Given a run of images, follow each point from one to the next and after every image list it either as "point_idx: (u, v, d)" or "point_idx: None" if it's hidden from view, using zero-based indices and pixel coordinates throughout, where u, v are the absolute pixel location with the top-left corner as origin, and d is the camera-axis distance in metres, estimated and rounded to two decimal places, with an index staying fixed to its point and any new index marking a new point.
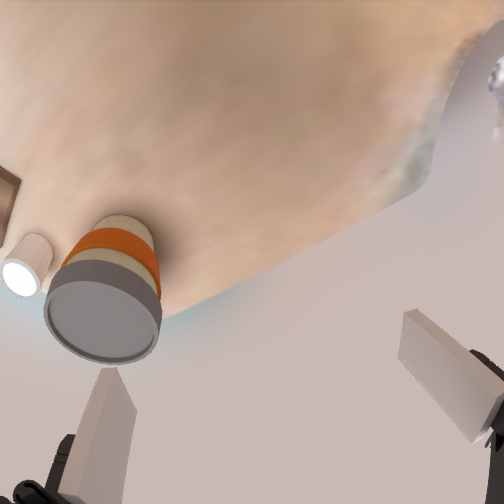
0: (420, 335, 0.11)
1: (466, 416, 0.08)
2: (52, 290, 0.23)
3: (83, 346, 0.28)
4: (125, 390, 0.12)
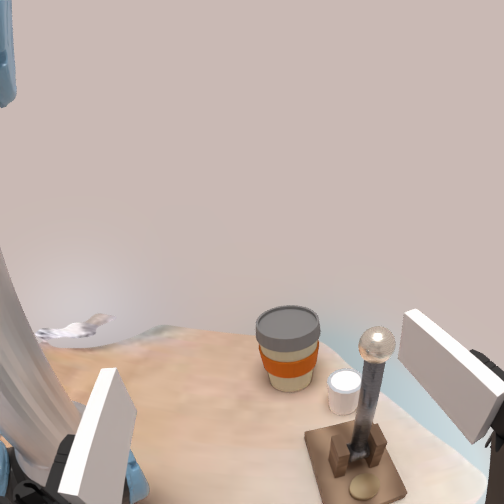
0: (420, 335, 0.11)
1: (466, 416, 0.08)
2: (283, 340, 0.51)
3: (312, 320, 0.57)
4: (125, 390, 0.12)
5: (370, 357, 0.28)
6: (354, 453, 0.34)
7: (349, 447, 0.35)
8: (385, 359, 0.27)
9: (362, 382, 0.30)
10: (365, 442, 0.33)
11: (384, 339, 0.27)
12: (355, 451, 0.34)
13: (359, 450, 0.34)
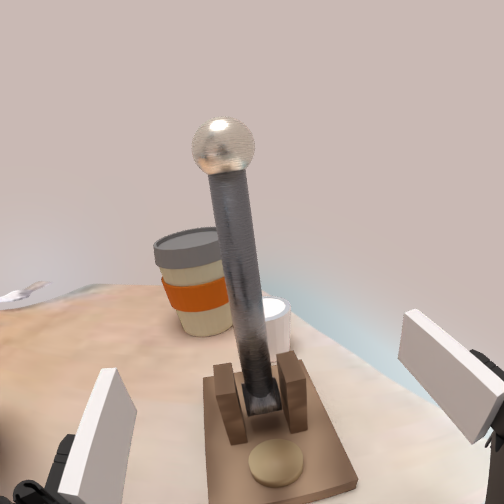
0: (420, 335, 0.11)
1: (466, 416, 0.08)
2: (176, 250, 0.41)
3: None
4: (125, 390, 0.12)
5: (201, 152, 0.17)
6: (251, 398, 0.23)
7: (243, 387, 0.24)
8: (229, 155, 0.17)
9: (216, 227, 0.20)
10: (265, 375, 0.23)
11: (222, 121, 0.17)
12: (252, 394, 0.24)
13: (258, 392, 0.23)
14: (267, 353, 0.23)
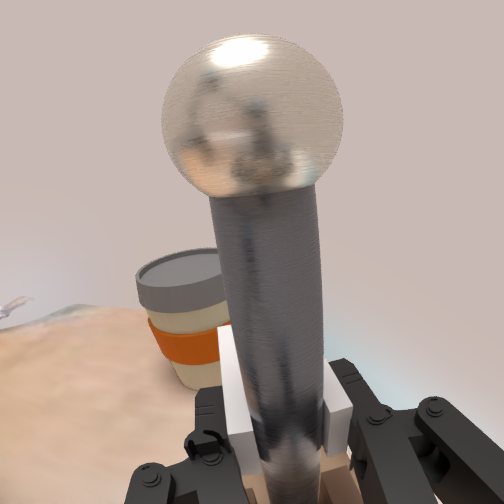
0: None
1: None
2: (165, 288, 0.28)
3: None
4: None
5: (188, 128, 0.05)
6: None
7: None
8: (285, 136, 0.05)
9: (233, 330, 0.08)
10: None
11: (255, 36, 0.05)
12: None
13: None
14: (316, 497, 0.10)
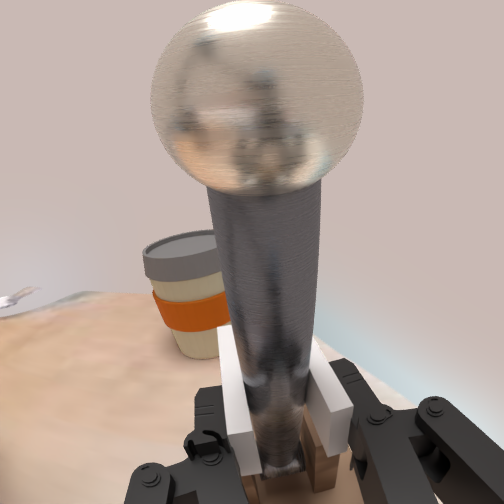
0: None
1: (320, 426, 0.09)
2: (168, 259, 0.33)
3: None
4: None
5: (184, 128, 0.04)
6: (268, 469, 0.15)
7: None
8: (299, 148, 0.04)
9: (228, 303, 0.08)
10: (291, 454, 0.14)
11: (270, 10, 0.03)
12: (270, 463, 0.16)
13: (279, 465, 0.15)
14: (298, 437, 0.14)
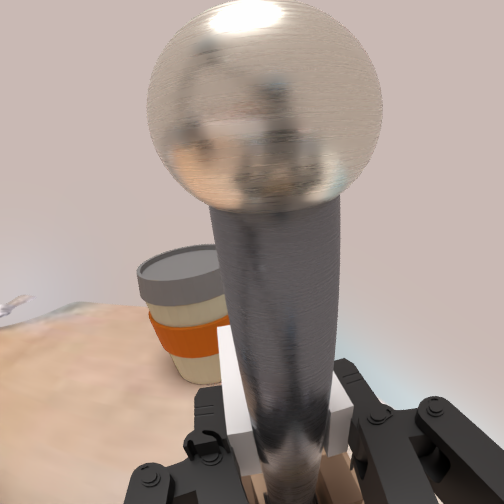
0: None
1: None
2: (165, 282, 0.29)
3: None
4: None
5: (181, 127, 0.04)
6: None
7: None
8: (318, 145, 0.03)
9: (235, 348, 0.07)
10: None
11: (277, 1, 0.03)
12: None
13: None
14: (314, 490, 0.11)
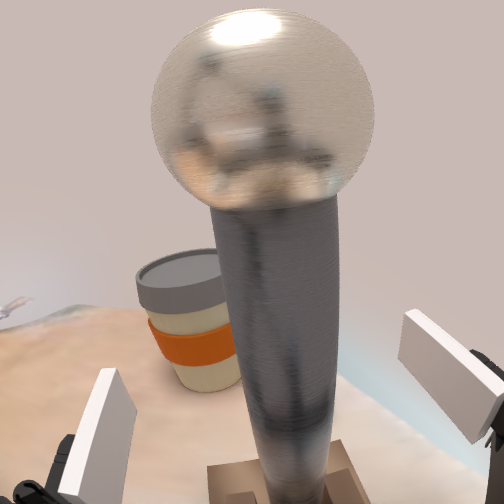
0: (420, 335, 0.11)
1: (466, 416, 0.08)
2: (165, 289, 0.28)
3: None
4: (125, 390, 0.12)
5: (183, 125, 0.04)
6: None
7: None
8: (310, 139, 0.04)
9: (237, 354, 0.07)
10: None
11: (270, 11, 0.03)
12: None
13: None
14: None
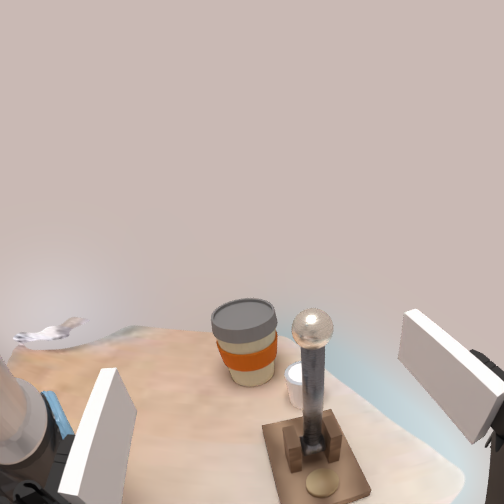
0: (420, 335, 0.11)
1: (466, 416, 0.08)
2: (236, 330, 0.51)
3: (268, 312, 0.57)
4: (125, 390, 0.12)
5: (303, 342, 0.27)
6: (307, 447, 0.34)
7: (302, 440, 0.35)
8: (320, 344, 0.27)
9: (302, 370, 0.30)
10: (318, 435, 0.33)
11: (317, 322, 0.26)
12: (308, 444, 0.34)
13: (313, 443, 0.34)
14: (321, 424, 0.33)
